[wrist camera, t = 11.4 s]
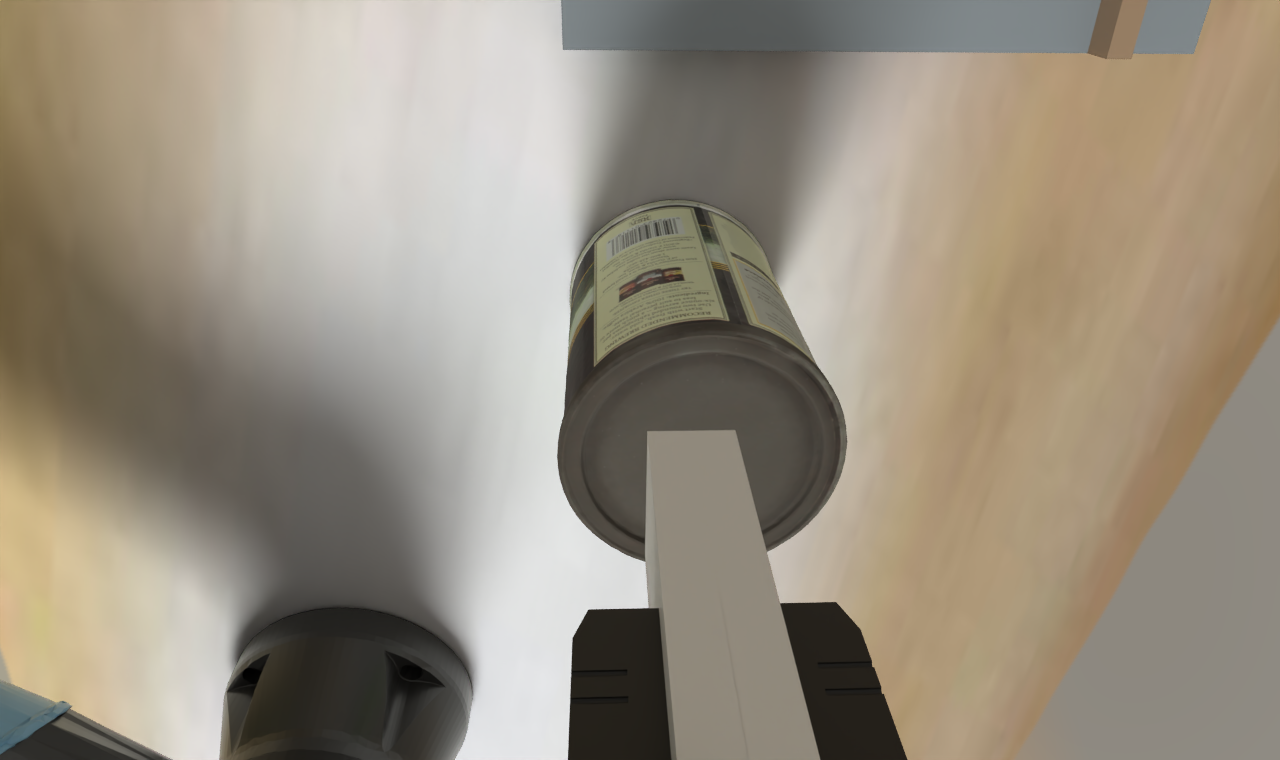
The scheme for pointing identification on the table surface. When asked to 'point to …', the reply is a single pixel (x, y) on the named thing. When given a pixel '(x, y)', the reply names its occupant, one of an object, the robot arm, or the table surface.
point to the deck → (888, 25)
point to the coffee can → (690, 371)
